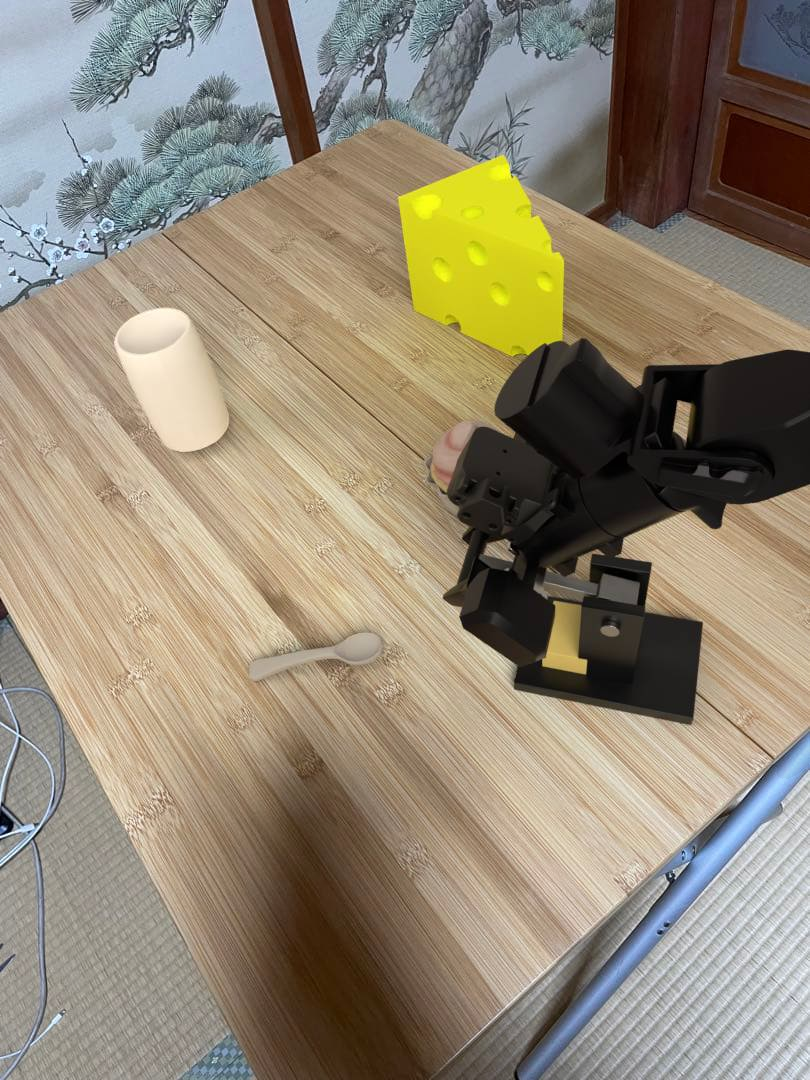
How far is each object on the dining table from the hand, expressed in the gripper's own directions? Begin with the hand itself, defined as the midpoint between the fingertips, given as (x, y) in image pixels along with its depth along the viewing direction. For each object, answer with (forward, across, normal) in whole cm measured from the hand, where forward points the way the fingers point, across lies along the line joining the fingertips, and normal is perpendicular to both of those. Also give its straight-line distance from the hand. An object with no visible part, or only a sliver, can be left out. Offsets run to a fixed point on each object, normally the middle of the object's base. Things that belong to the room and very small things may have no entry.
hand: (456, 569), depth 65 cm
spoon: (+15, +6, -2) cm, 16 cm away
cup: (+32, -19, -18) cm, 41 cm away
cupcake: (+9, -15, +5) cm, 18 cm away
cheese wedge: (+12, -43, +1) cm, 45 cm away
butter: (-1, 0, +12) cm, 12 cm away
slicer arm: (-4, 0, +5) cm, 7 cm away
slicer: (-2, 0, +15) cm, 15 cm away
